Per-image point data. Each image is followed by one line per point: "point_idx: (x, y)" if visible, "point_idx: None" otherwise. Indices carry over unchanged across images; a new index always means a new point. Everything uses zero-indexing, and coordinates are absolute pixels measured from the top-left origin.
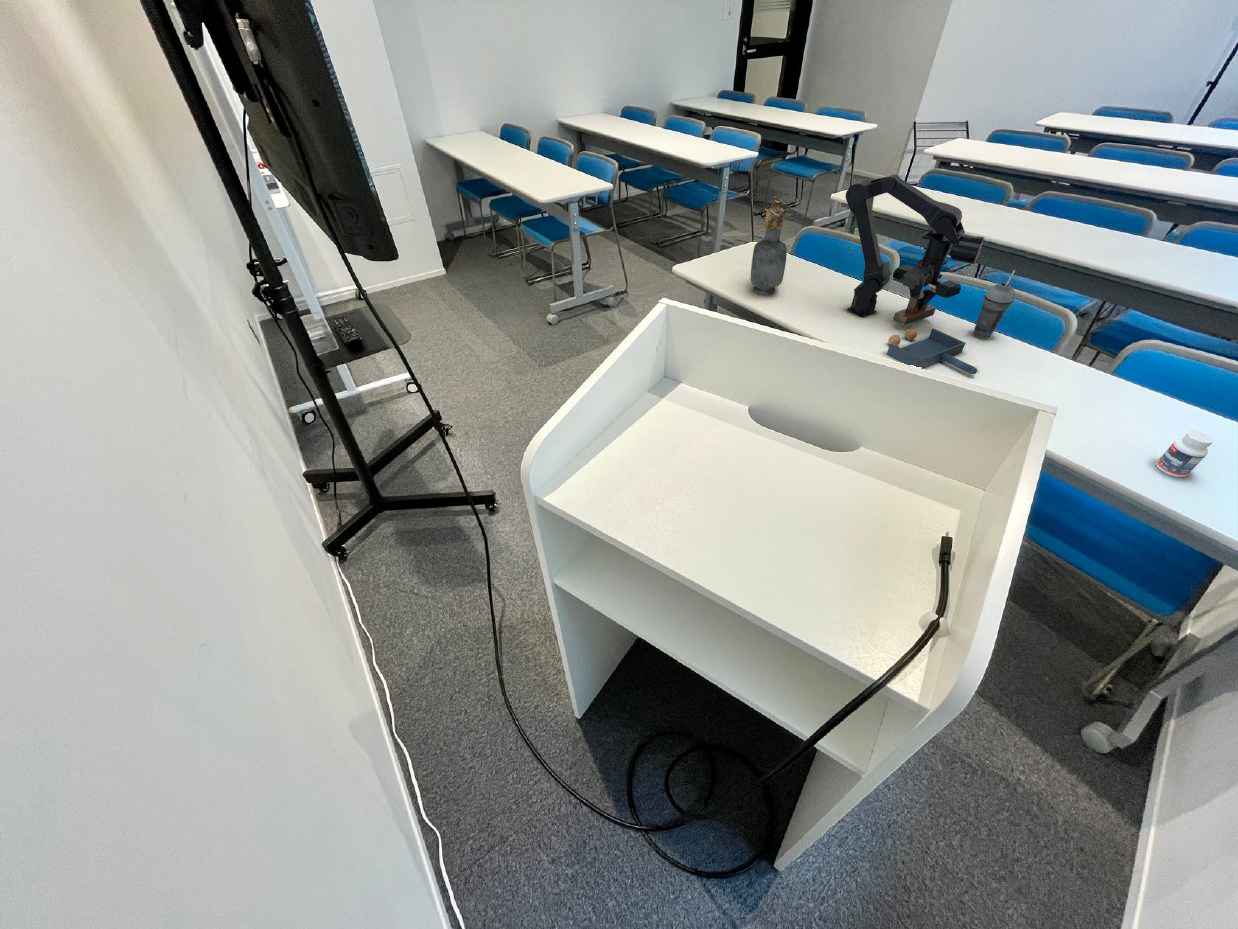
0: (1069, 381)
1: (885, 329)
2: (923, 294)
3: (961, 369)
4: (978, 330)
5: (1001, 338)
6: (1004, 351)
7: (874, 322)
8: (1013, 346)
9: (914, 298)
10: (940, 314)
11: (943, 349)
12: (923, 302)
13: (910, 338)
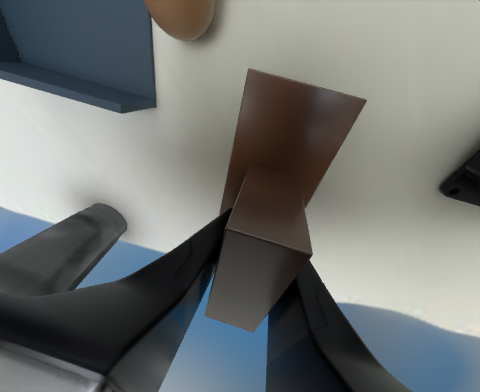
0: None
1: (352, 21)
2: (239, 311)
3: None
4: (87, 215)
5: None
6: (27, 173)
7: (441, 70)
8: (48, 207)
9: (260, 237)
10: None
11: (48, 28)
12: (198, 235)
13: None
